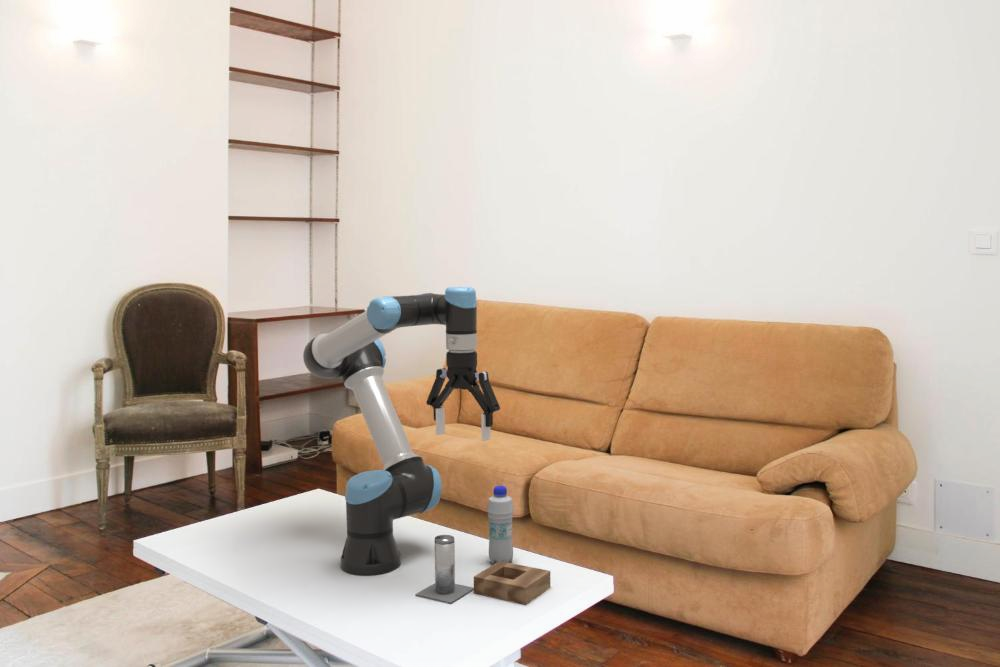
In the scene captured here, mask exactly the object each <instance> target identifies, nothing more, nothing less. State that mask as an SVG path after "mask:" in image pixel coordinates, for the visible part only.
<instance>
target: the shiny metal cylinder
mask: <svg viewBox="0 0 1000 667" xmlns="http://www.w3.org/2000/svg"><path fill="white" fill-rule="evenodd" d="M455 547H456V546H455V536H453V535H451V534H440V535H437V536H435V537H434V578H435V579H434V581H435V582H434V583H435V592H436V593H438V594H441V595H448V594H452V593H454V592H455V584H456V580H455V579H456V572H455V571H456V570H455V569H456V568H455V567H456V561H455V555H456V554H455V553H456V552H455Z"/></svg>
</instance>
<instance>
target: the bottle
mask: <svg viewBox="0 0 1000 667" xmlns="http://www.w3.org/2000/svg"><path fill="white" fill-rule="evenodd" d="M507 490H508V489H507V487H506V486H504V485H496V486H494V488H493V495H492V496H490V497H489V498H488V502H487V509H486V510H487V517H488V533H489V534H488V538H489V540H488V558H489V560H490V562H491V563H492V565H494V564H495V563H497V562H499V561H503V562H508V563H512V561H513V558H514V542H513V517H514V505H513V499H512V497H511V496H509V495H507V494H508V491H507Z"/></svg>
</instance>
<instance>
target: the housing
mask: <svg viewBox="0 0 1000 667" xmlns="http://www.w3.org/2000/svg"><path fill="white" fill-rule="evenodd" d="M473 588H474V590H473V594H477V595H481V596H484V597H485V596H486V597H490V598H493V599H499V600H502V601H507V602H512V603H517V604H521V605H525V606H526V605H528V604H529V603H530V602H532V601H533V600H535V599H536V598H538V597H539V596H540V595H542V594H543V593H544V592H546V591H547V590H549V589H550V588H551V570H547V569H542V568H538V567H532V566H526V565H522V564H518V563H512V562H510V563H508V562H504V561H499V562H497V561H496V563H495V564H491V565H490V566H489V567H487V568H486V569H484V570H482V571H480V572H479V573H477V574H476V575H474V576H473ZM548 588H549V589H548ZM545 590H546V591H545Z"/></svg>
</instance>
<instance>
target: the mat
mask: <svg viewBox="0 0 1000 667" xmlns="http://www.w3.org/2000/svg"><path fill="white" fill-rule="evenodd" d="M471 592H474V586H467V585H464V584H460V583H459V584H458V583H455V592H454V593H452V594H448V595H441V594H438V593H436V592H435V582H434V583H432V584H431V585H429V586H427V587H426V588H423V589H422V590H420V591H419V592H417V593H415V596H416V597H419V598H423V599H427V600H431V601H436V602H441V603H446V604H449V605H452V604H454V603H456V602H457V601H459V600H460V599H462V598H464V597H465V596H466V595H468V594H470V593H471Z"/></svg>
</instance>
